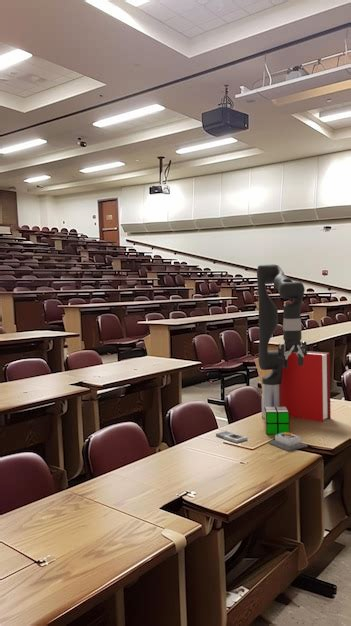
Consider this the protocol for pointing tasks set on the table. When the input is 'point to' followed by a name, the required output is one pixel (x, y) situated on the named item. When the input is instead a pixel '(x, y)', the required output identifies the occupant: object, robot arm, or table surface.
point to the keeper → (287, 435)
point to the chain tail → (229, 436)
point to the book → (307, 386)
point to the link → (288, 440)
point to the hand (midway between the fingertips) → (292, 366)
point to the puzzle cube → (276, 420)
